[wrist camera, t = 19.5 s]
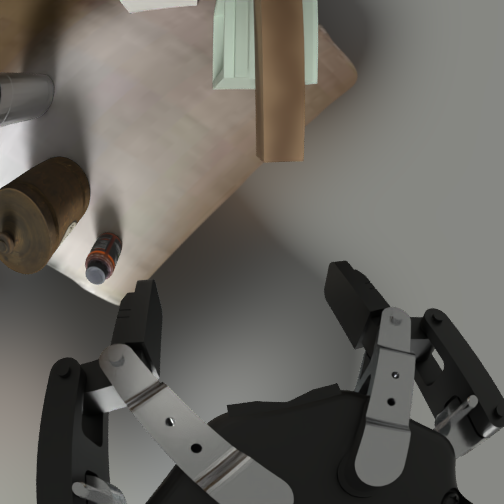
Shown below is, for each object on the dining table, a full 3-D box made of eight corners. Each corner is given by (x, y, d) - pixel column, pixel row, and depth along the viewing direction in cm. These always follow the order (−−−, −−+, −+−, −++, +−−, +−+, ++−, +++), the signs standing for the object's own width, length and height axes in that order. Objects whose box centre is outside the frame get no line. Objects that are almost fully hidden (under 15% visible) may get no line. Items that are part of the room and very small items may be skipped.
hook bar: (256, 155, 28) (268, 166, 23) (252, -37, 15) (263, -59, 11) (291, 154, 28) (310, 165, 24) (288, -34, 16) (304, -52, 11)
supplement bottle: (92, 239, 50) (74, 269, 40) (112, 226, 50) (96, 256, 40) (107, 260, 53) (93, 293, 44) (127, 249, 53) (116, 281, 43)
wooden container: (41, 228, 46) (-8, 290, 27) (27, 164, 38) (-40, 206, 20) (96, 221, 48) (55, 288, 30) (84, 149, 41) (22, 186, 22)
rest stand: (212, 89, 40) (224, 77, 22) (214, 11, 32) (228, -46, 14) (269, 89, 42) (321, 83, 24) (270, 13, 34) (319, -33, 15)
